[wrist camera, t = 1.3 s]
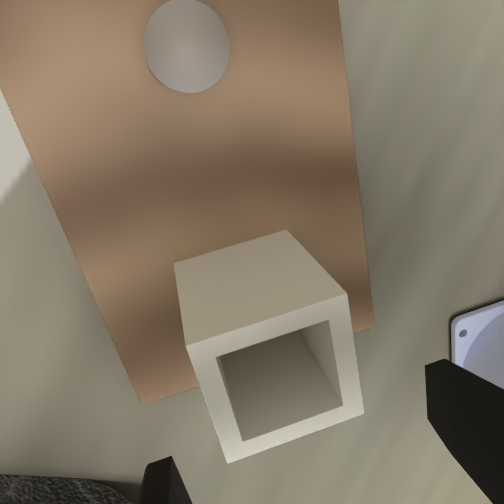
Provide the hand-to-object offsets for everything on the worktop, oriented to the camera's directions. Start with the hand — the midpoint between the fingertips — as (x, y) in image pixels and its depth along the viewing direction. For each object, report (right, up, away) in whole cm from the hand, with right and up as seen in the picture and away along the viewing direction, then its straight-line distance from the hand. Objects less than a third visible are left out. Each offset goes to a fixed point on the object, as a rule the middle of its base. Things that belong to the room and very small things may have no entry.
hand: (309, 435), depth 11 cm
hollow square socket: (-2, +3, +7) cm, 8 cm away
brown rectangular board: (-3, +8, +6) cm, 11 cm away
